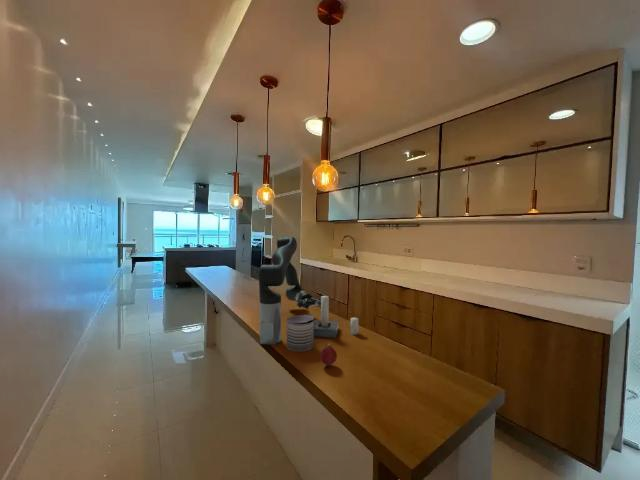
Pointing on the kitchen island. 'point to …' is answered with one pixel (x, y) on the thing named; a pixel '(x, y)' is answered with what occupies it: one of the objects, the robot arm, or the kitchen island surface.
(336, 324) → the hole plate
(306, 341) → the can
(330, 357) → the onion
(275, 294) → the robot arm
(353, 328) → the short pin
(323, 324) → the long pin
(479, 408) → the kitchen island surface
